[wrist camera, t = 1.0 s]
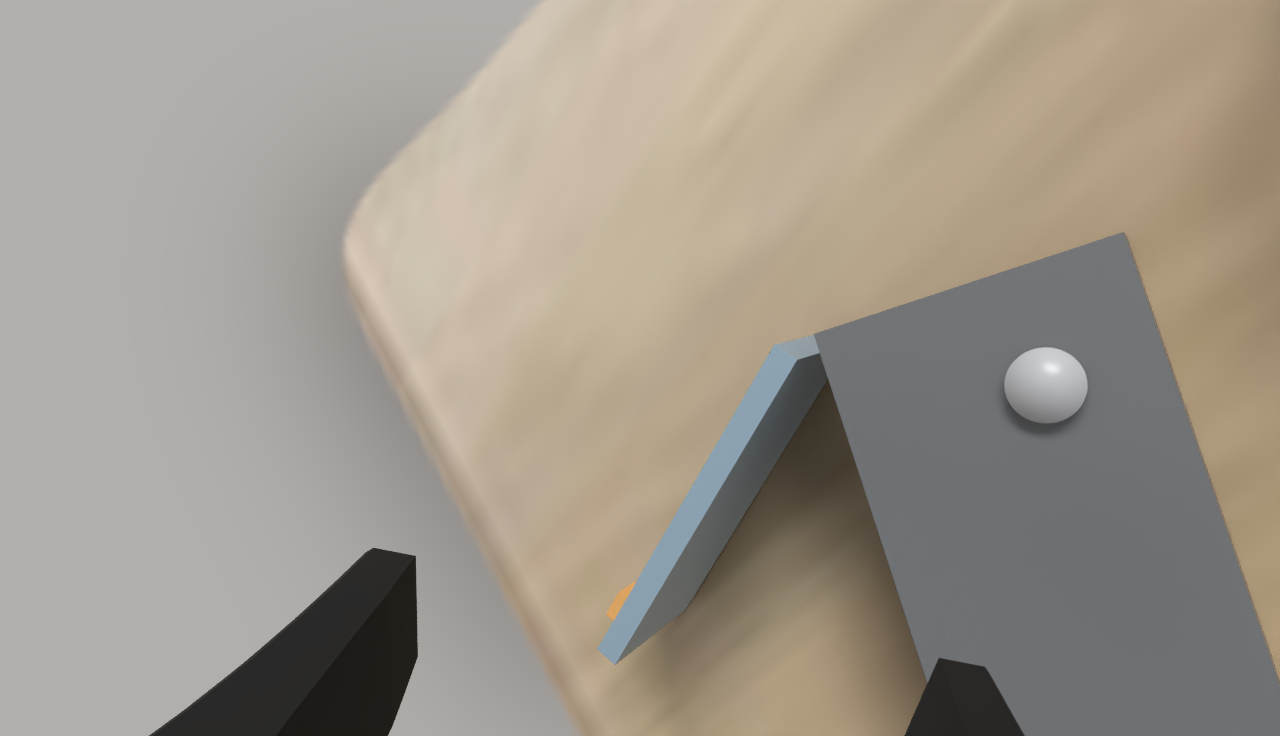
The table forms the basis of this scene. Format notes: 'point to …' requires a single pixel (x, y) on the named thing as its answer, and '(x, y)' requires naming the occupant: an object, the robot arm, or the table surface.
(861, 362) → the camera body
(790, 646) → the table surface
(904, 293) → the table surface
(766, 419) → the door
